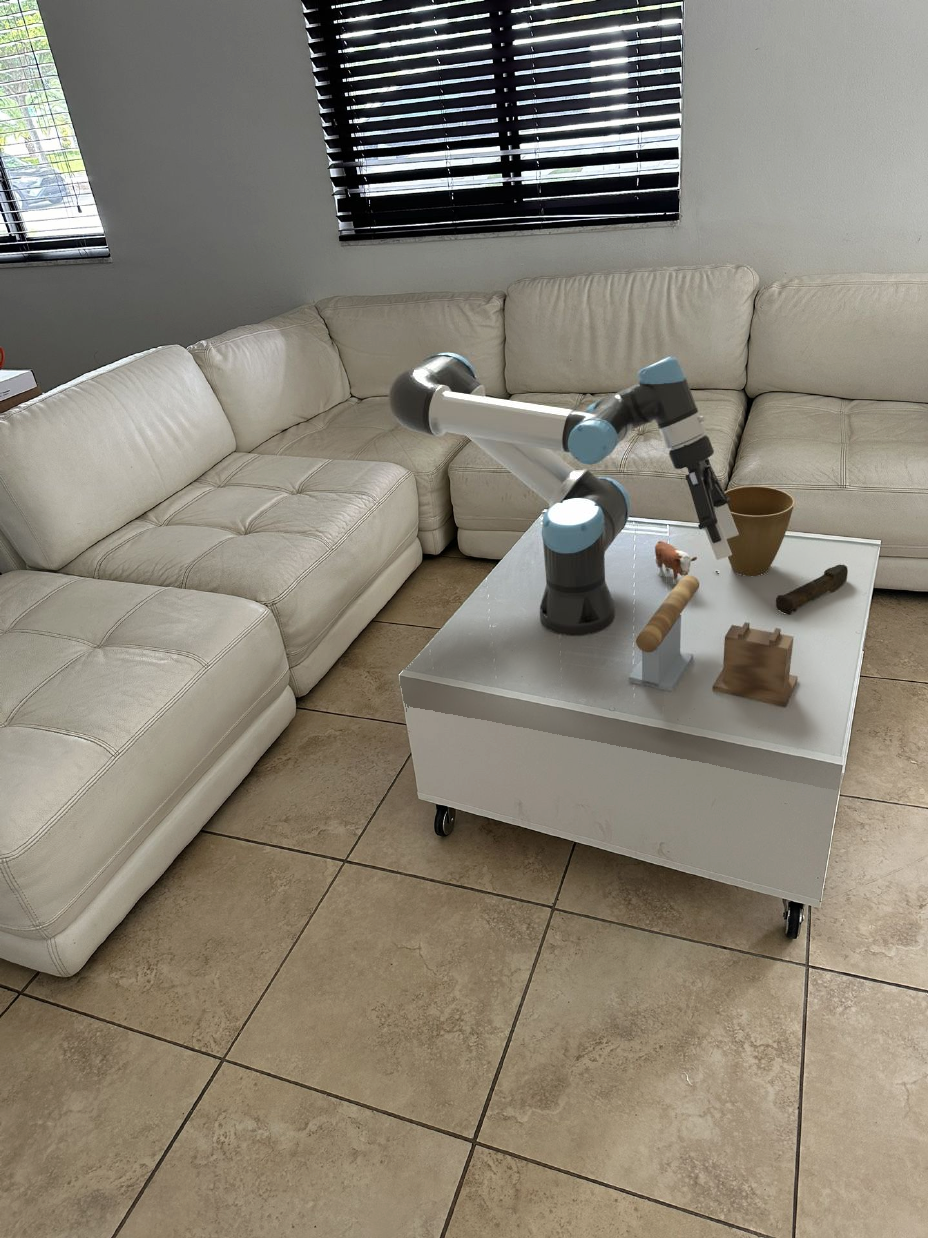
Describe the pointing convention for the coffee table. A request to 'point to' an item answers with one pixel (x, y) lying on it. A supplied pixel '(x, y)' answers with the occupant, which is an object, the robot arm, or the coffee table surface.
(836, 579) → the hand tool
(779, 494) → the plant pot
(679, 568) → the bull figurine
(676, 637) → the cradle
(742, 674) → the wooden stand
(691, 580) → the rod
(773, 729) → the coffee table surface
